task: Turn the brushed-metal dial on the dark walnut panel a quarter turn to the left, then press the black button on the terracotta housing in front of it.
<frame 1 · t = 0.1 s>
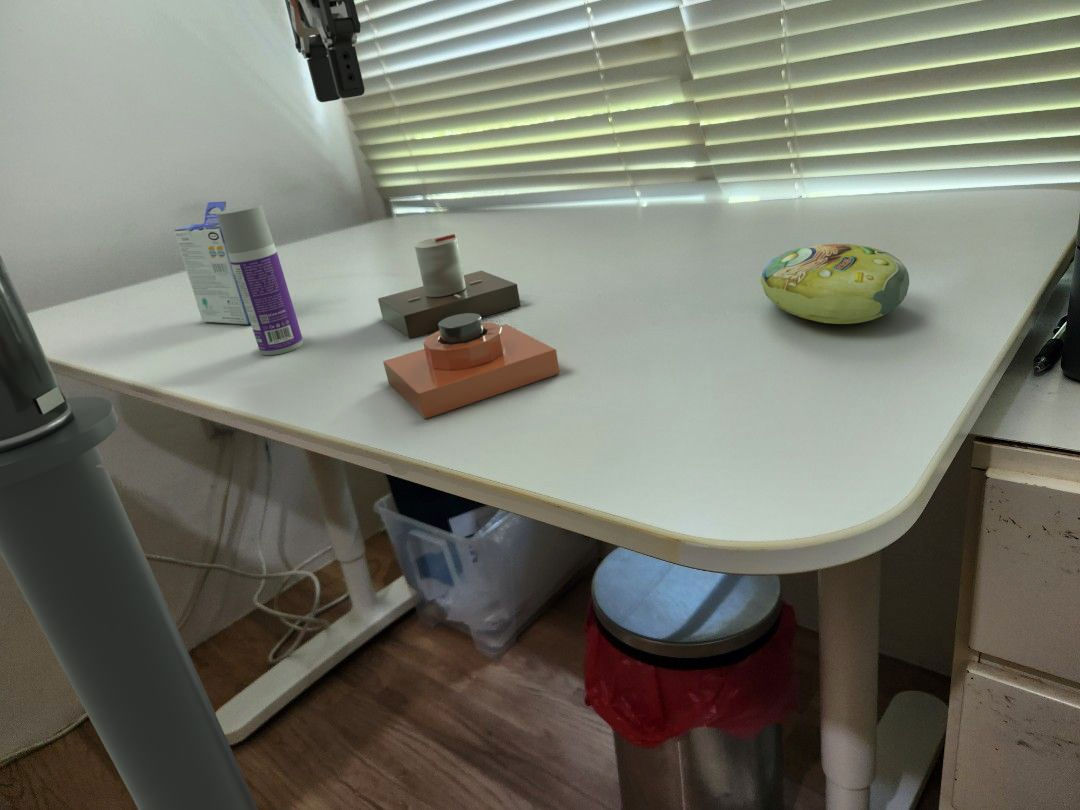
hand: (340, 99, 66), 23 cm above the table, tool pointing down, fingers open, 8 cm apart
dial: (440, 265, 82), point 5 cm above the table, hinge at 0.0°
dial panel: (450, 312, 84), on the table
button: (461, 329, 62), point 4 cm above the table, slide at 0.1 cm
ink cartridge box: (243, 319, 97), on the table
button housing: (471, 378, 64), on the table
container: (282, 349, 82), on the table
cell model: (829, 313, 66), on the table
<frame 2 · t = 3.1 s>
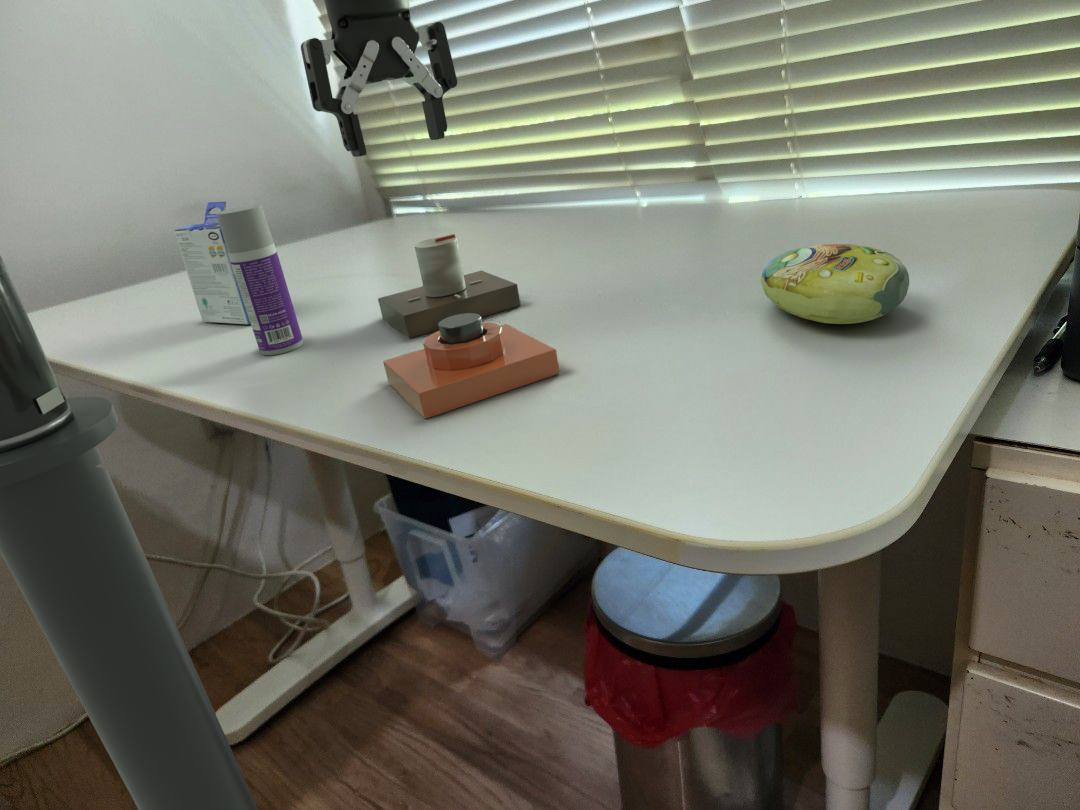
hand: (399, 147, 74), 18 cm above the table, tool pointing down, fingers open, 8 cm apart
nothing on the table moved.
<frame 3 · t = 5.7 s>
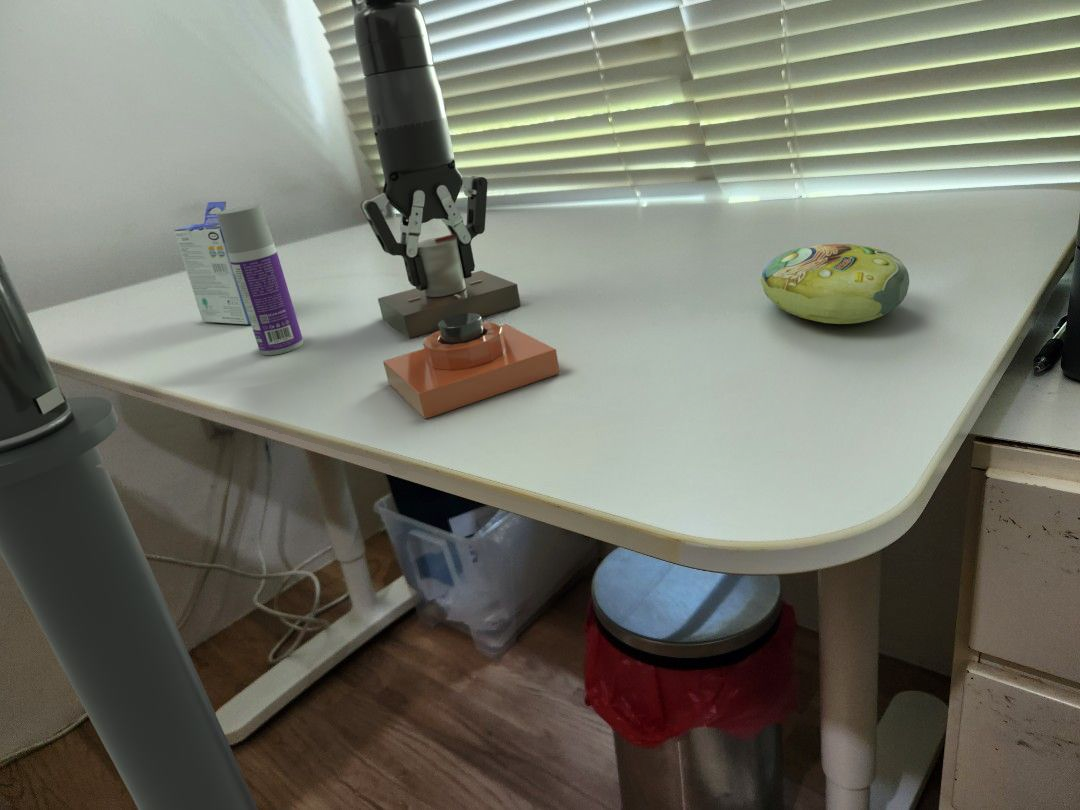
hand: (443, 282, 82), 4 cm above the table, tool pointing down, fingers closed on dial, 4 cm apart
dial: (440, 265, 82), point 5 cm above the table, hinge at -0.1°, touching gripper
everything else where it was.
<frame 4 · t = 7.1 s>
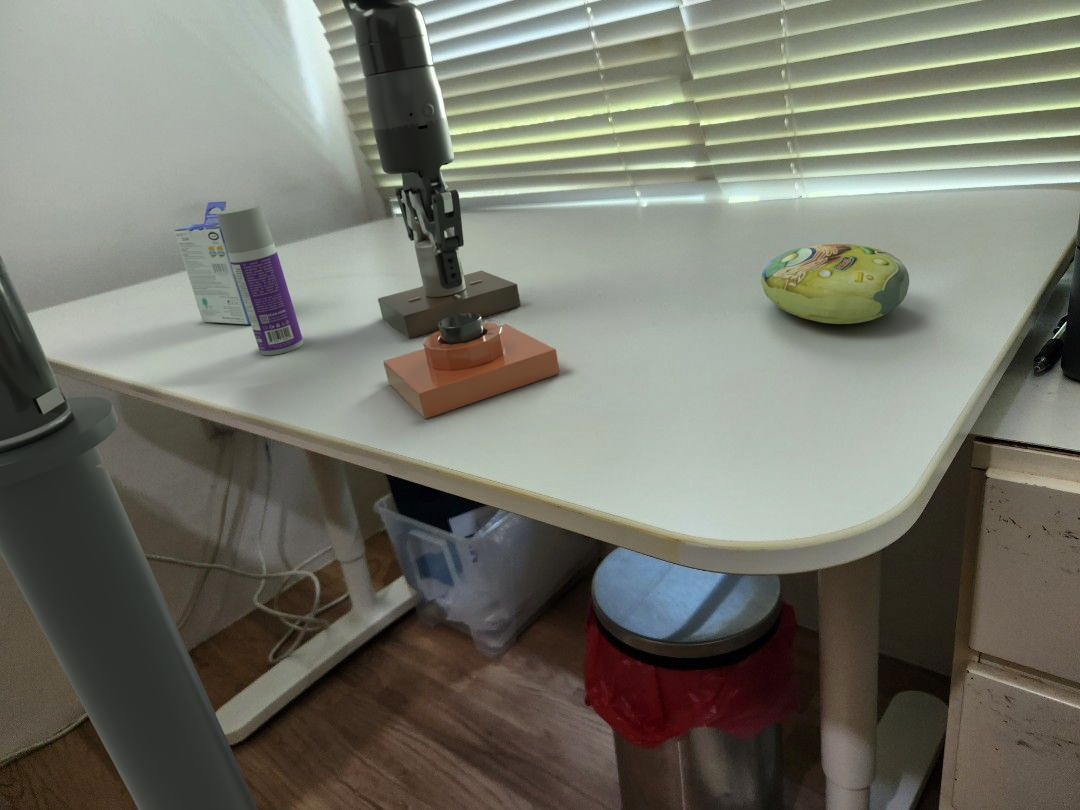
hand: (443, 282, 82), 4 cm above the table, tool pointing down, fingers closed on dial, 4 cm apart
dial: (440, 265, 82), point 5 cm above the table, hinge at 89.6°, touching gripper
everything else where it was.
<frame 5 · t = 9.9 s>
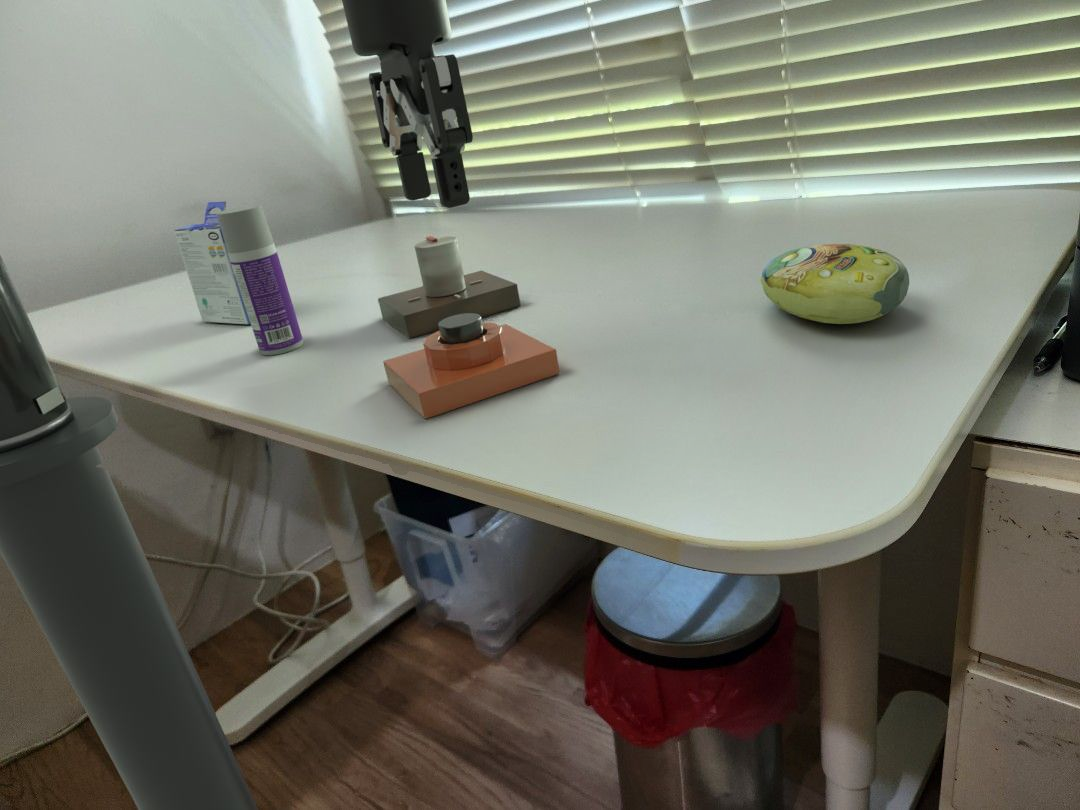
hand: (436, 202, 61), 15 cm above the table, tool pointing down, fingers open, 8 cm apart
dial: (440, 265, 82), point 5 cm above the table, hinge at 89.4°
everything else where it was.
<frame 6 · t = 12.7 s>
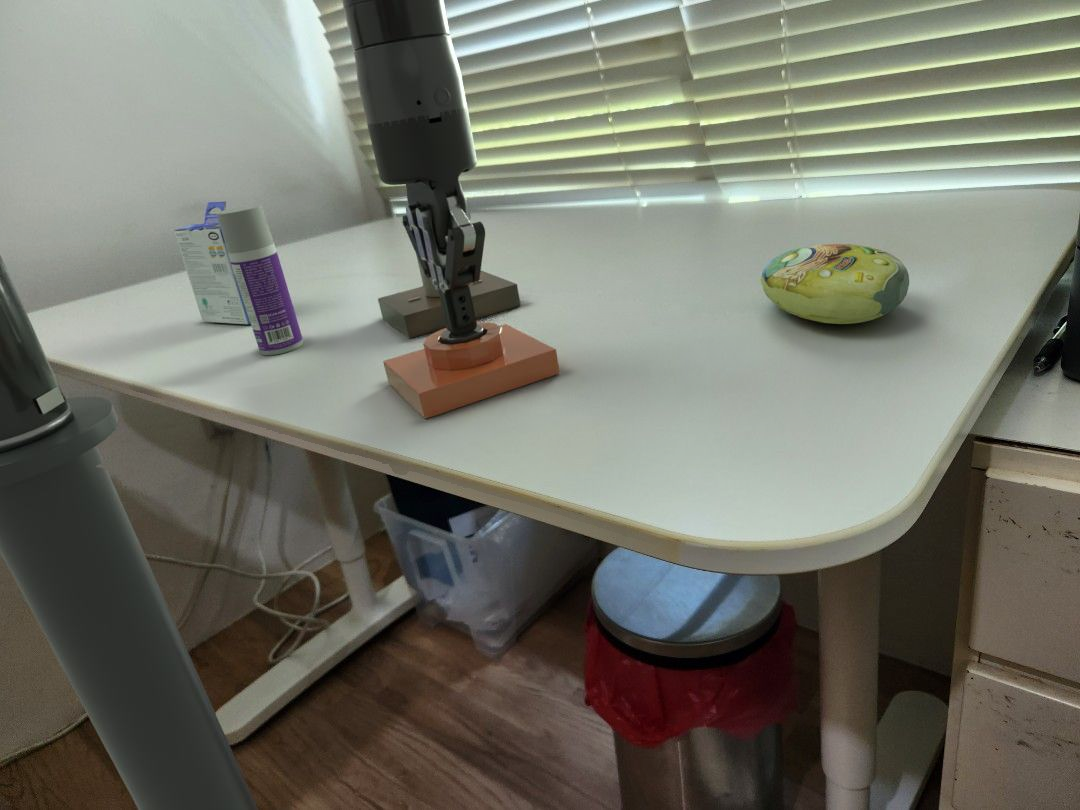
hand: (462, 330, 62), 4 cm above the table, tool pointing down, fingers closed
button: (463, 341, 63), point 3 cm above the table, slide at -0.9 cm, touching gripper
everything else where it was.
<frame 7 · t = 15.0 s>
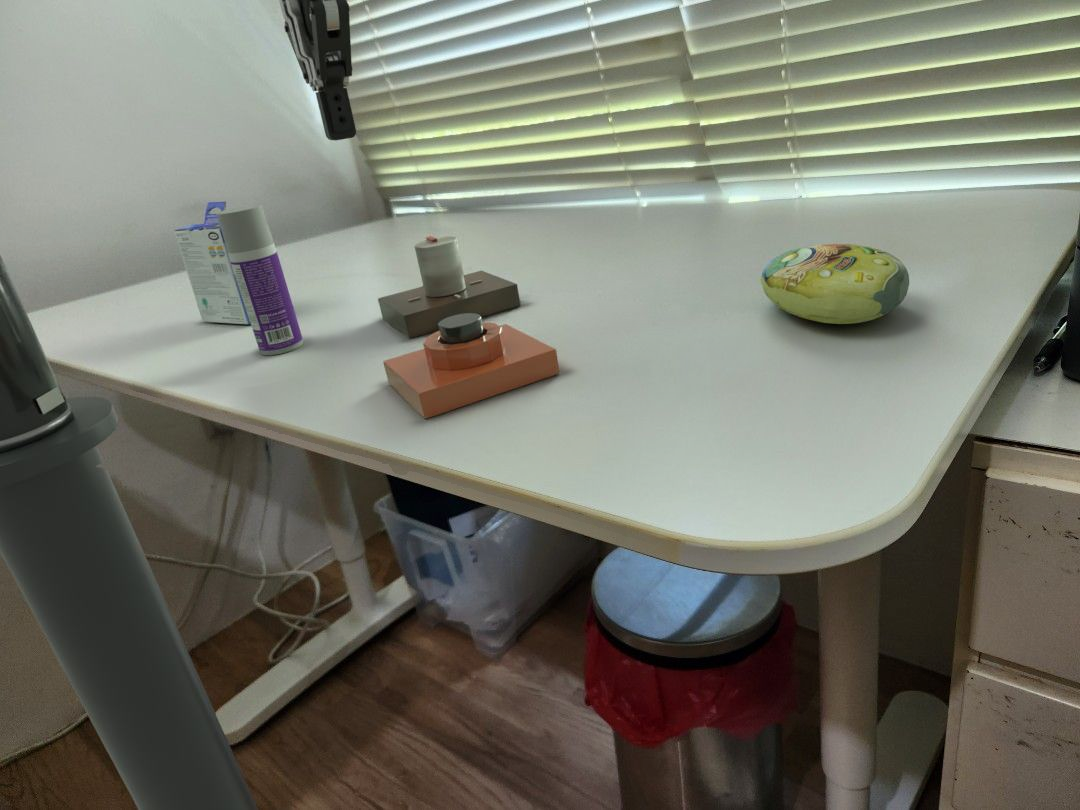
hand: (342, 138, 61), 20 cm above the table, tool pointing down, fingers closed
button: (461, 329, 62), point 4 cm above the table, slide at 0.1 cm
everything else where it was.
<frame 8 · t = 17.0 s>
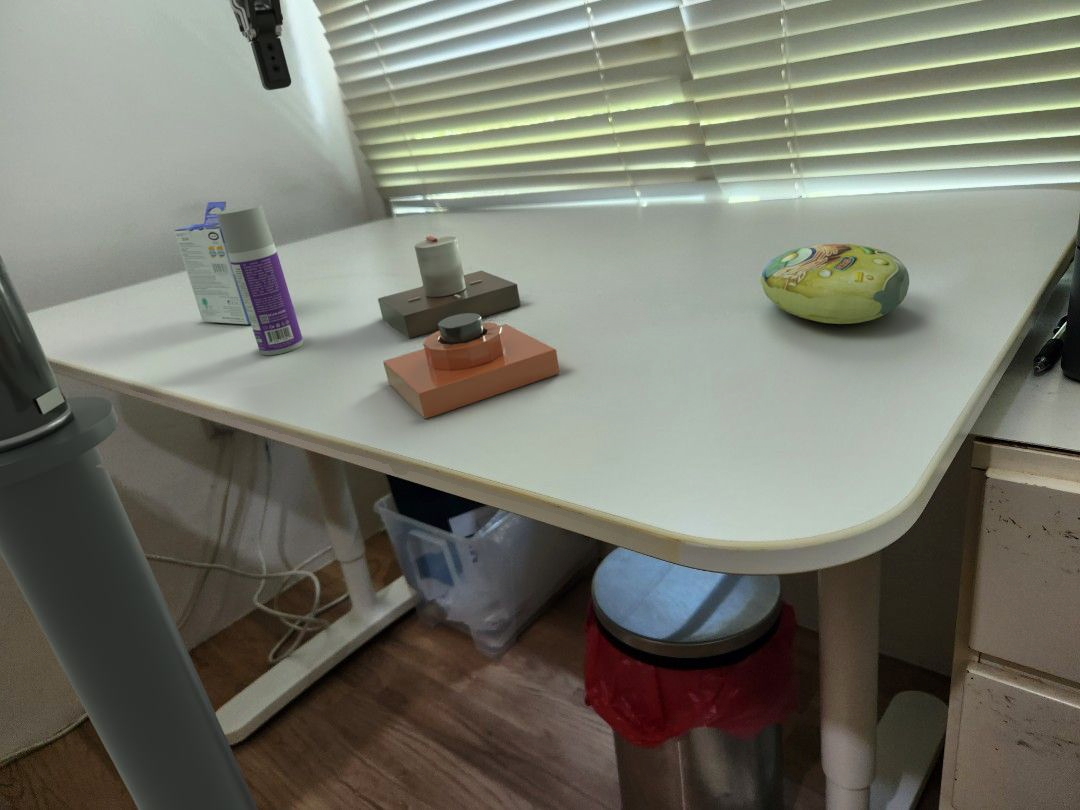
hand: (278, 88, 63), 25 cm above the table, tool pointing down, fingers closed
nothing on the table moved.
at the end: dial at +89° (first picture: +0°); button pushed in 1.1 cm at the most during the clip, back to where it started at the end; button slide at 0.1 cm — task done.
